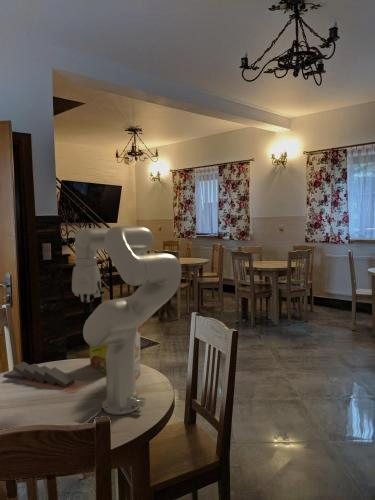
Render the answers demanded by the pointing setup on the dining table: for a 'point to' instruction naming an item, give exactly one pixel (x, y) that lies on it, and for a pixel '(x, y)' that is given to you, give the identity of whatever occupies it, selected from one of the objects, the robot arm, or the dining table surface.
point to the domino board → (70, 388)
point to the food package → (98, 357)
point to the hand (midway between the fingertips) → (87, 312)
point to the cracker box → (137, 354)
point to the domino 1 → (14, 375)
